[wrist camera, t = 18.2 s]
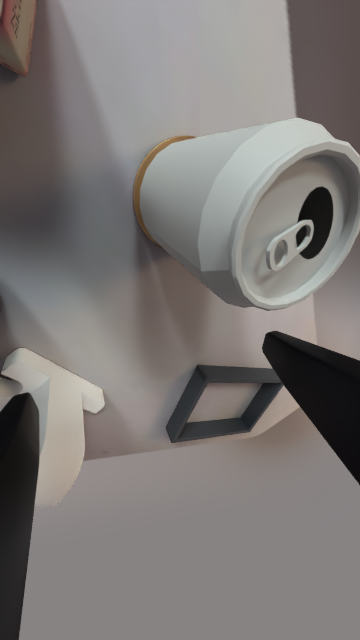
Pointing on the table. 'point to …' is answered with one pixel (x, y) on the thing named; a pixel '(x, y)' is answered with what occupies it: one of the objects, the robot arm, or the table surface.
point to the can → (256, 210)
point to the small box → (16, 33)
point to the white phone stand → (53, 418)
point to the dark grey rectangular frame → (215, 428)
